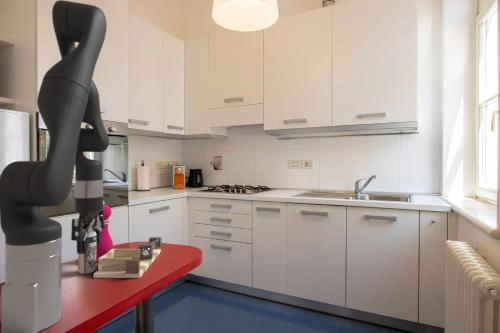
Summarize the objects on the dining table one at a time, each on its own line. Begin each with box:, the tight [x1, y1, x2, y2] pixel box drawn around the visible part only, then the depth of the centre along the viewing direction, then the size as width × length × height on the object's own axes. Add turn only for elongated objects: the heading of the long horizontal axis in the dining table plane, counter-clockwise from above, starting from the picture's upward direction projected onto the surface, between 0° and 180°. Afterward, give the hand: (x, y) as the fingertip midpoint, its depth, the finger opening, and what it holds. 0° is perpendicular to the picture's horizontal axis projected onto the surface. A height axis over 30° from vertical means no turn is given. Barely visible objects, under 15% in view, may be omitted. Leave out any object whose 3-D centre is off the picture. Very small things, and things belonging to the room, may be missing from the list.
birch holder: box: [93, 243, 162, 279], centre depth 93 cm, size 23×13×6 cm, turn 3°
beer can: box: [77, 230, 97, 275], centre depth 85 cm, size 5×5×12 cm
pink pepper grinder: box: [96, 200, 114, 263], centre depth 96 cm, size 7×7×20 cm
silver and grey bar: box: [141, 236, 162, 257], centre depth 100 cm, size 14×4×3 cm, turn 3°
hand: (89, 248), depth 86 cm, fingers open, 8 cm apart
